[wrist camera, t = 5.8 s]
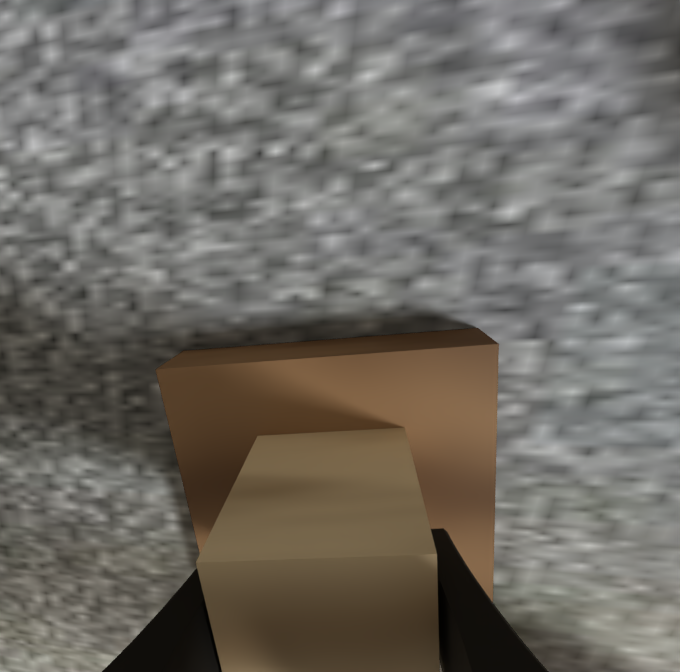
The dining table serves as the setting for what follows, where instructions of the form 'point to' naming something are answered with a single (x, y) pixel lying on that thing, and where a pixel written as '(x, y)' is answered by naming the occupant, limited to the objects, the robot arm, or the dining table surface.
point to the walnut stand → (347, 418)
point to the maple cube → (324, 558)
